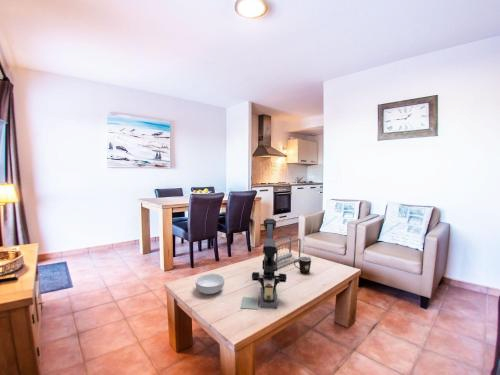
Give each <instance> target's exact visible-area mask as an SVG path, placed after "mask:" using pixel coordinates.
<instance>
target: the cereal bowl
mask: <svg viewBox="0 0 500 375" xmlns="http://www.w3.org/2000/svg"><path fill="white" fill-rule="evenodd" d="M224 285H225V278H224V276H223V275H221V274H219V273H205V274H201V275H199V276H198V277H197V278H196V279H195V287H196V289H197V291H199V292H200V293H202V294H205V295H212V294H216V293H218V292H220V291H221V290H222V289H223V288H224Z"/></svg>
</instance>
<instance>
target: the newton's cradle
mask: <svg viewBox="0 0 500 375" xmlns="http://www.w3.org/2000/svg"><path fill="white" fill-rule="evenodd" d="M273 241H274V242H275V247H276V248H277V253H276V254H275V258H274V261H275V262H276V265H277V270H280V269H282V268H285V267H286V266H288V265H291V264H294V262H295V261H299V257H301V242H302V241H301V238H296V237H292V236H290V235H288V236H285V237H281V238H278V239H275V240H273ZM283 241H284V242H283ZM280 242H281V243H280ZM294 242H298V258H294V257H293V253H292V246H293V245H292V244H293V243H294ZM276 243H277V244H276ZM287 245H288V247H287ZM284 246H285V248H283V247H284ZM281 247H282V248H281ZM280 248H281V249H282V250H280ZM287 248H288V251H286V253H285V252H283V254H282V253H279V251H284V250H287ZM278 250H279V251H278ZM279 255H280V256H279ZM289 258H290V259H294V260H293V261H290V262H287V263H286V264H283V265H280V266H278V263H280V262H282V261H285V260H288V259H289Z"/></svg>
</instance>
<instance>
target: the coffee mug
mask: <svg viewBox="0 0 500 375" xmlns="http://www.w3.org/2000/svg"><path fill="white" fill-rule="evenodd" d="M298 258H299V260H298V261H295V262H294V263H293V265H294V266H295V268H297V269H299V273H300V274H301V275H307V276H308V275H309V274H310V272H311V264H312V257H309V256H308V257H307V256H300V257H299V256H298ZM296 263H298V264H299V266H296Z"/></svg>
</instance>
